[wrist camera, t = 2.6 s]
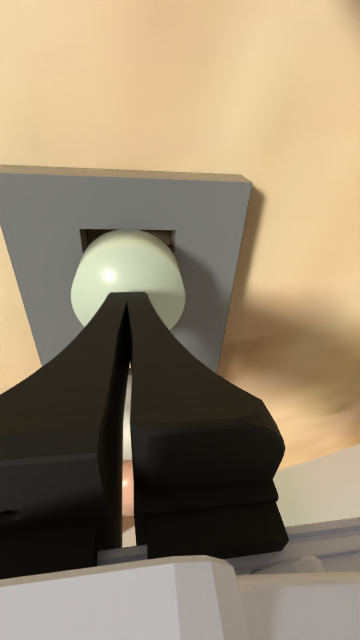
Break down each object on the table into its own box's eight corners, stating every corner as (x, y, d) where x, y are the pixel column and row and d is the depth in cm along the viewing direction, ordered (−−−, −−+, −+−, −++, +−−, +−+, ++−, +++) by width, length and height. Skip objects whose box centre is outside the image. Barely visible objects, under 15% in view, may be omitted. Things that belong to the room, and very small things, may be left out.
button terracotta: (167, 462, 23) (171, 511, 20) (109, 467, 23) (105, 519, 20) (169, 428, 21) (174, 479, 18) (103, 433, 20) (99, 487, 17)
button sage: (173, 300, 16) (181, 342, 13) (89, 302, 15) (79, 346, 13) (177, 218, 14) (189, 248, 11) (77, 216, 13) (61, 248, 10)
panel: (196, 449, 26) (199, 467, 25) (78, 459, 25) (75, 478, 24) (240, 174, 13) (252, 182, 12) (1, 164, 12) (-16, 172, 11)
